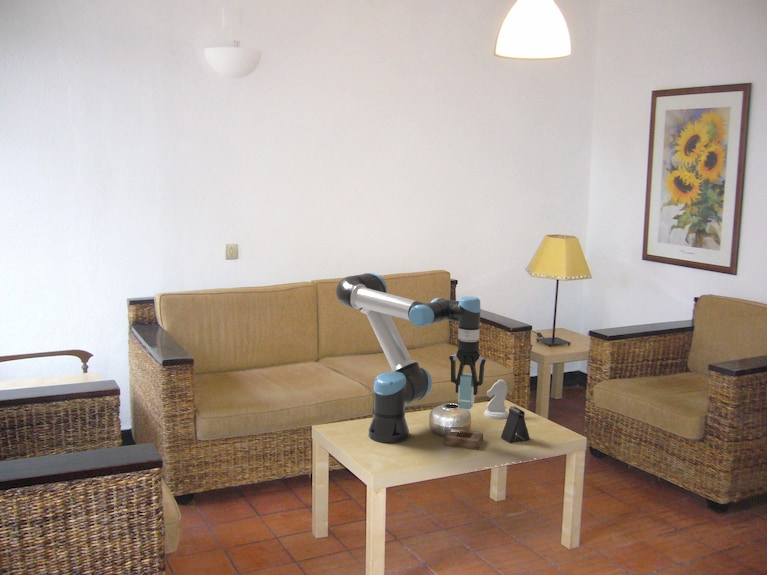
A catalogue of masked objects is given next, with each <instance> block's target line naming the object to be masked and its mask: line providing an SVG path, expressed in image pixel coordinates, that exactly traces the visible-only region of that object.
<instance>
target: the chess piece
mask: <svg viewBox="0 0 767 575" xmlns="http://www.w3.org/2000/svg"><path fill="white" fill-rule="evenodd" d="M507 394H508V386H507V383H506V381H505V380H503V379H498V380H497V381H496V382H494V384H493V385H492V386H491V388H490V389H488V390H487V392H486V396H487V397H488V398H492V399H491V400H490V401H489V402H488V403H487V405H486V407H487V408H486V409H485V411H484V412H483V415H484V416H485V417H486V418H489V419H491V420H504V419H507V418H508V415H509V411H508V412H507V406H506V405H505V401H506V398H507ZM492 396H493V397H492Z"/></svg>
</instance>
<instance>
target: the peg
mask: <svg viewBox="0 0 767 575" xmlns="http://www.w3.org/2000/svg"><path fill="white" fill-rule="evenodd" d="M472 385H473V379H472V373H464V372H463V373H462V375H461V376H460V399H459V403H458V404H459V406H458V408H459V409H463V410H471V409H472V407H473V404H474V403H473V404H471V387H472Z"/></svg>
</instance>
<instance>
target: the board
mask: <svg viewBox="0 0 767 575" xmlns="http://www.w3.org/2000/svg"><path fill="white" fill-rule="evenodd" d="M464 430H465V431H460V433H459V432H450V431H449V432H448V433H447V434H446V436H445V437H444V438H445V439H444V446H449V445H450V446H451V447H456V446H457V447H458V448H465V449H471V450H478V449H479V447H481V444H482V443H483V441H484V432H482V431H481V432H480V431H473V430H467V429H464Z"/></svg>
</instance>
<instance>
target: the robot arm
mask: <svg viewBox="0 0 767 575" xmlns="http://www.w3.org/2000/svg"><path fill="white" fill-rule="evenodd" d="M335 289H336V290H335V295H336V297H337V300H338V301H339V303H341V305H343V306H345V307H348V308H352V309H356V310H359V311H360V313H362V314H365V315H366V317H367V319H368V321H369V323H370V326H371V328H372V329H373V332H374V334H375V336H376V338H377V340H378V343H379V345H380V347H381V349H382V351H383V354H384V355H385V358H386V360H387V362H388V364H389V366H390V368H391V370H390V371H386V372H382V373H380V374H378V375H377V376H376V377H375V379H374V384H373V416H372V419H371V422H370V425H369V427H368V437H369V438H370V439H371V440H373V441H376V442H379V443H380V442H381V443H387V444H389V443H391V444H392V443H393V444H394V443H400V442H404V441H406V440H408V439H409V436H410V430H409V426H408V423H407V420H406V415H405V414H406V405H409V404H411V403H413V402H417V401H420V400H421V399H424V398H426V397H427V396H428V395H429V394H430V392H431V391H432V387H433V381H432V380H433V379H432V377H431V374H430V373H429V371H428V370H427V369H424V368H423V367H420V365H419V363H418V361H417V360H414V359H412V357H411V355H410V353H409V350H408V348H407V347H406V345H405V343H404V340H403V339H402V336H401V334H400V332H399V330H398V328H397V325H396V323H395V322H394V320H393V318H399V319H402V320H404V321H405V320H406V321H410V322H411V323H412V325H414V326H415V327H427V326H429V325H432V324H433V325H434V324H436V323H441V322H445V321H448V322H449V321H452V322H456V323H458V336H457V338H458V340H457V352H456V353H455V354H451V355H450V356H449V361H450V383H452V384H453V383H454V384H455V393H456V394H457V403H458V404H459V399H460V376H461V375H462V374H463V373H464V369H465V366H468V367H469V368H470V374H472V379H473V385H472V387H471V404H474V403H475V398H476V397H475V396H477V394H478V389H479V388H478V387H479V386H482V385H483V384H484V375H485V364H486V362H487V358H486V357H482V356H480V352H479V350H480V341H479V340H480V329H481V328H480V324H481V323H480V321H481V311H482V310H481V309H482V308H481V299H480V298H479V297H477V296H468V295H467V296H461V297H460V298H459V300H454V299H453V300H452V299H449V298H443V297H439V298H438V297H436V298H433V299H432V300H431V301H430V302H427V303H426V302H422V301H418V300H415V299H410V298H406V297H402V296H398V295H395V294H391V293H388V286H387V283H386V281H385V279H384V278H383V277H382V276H381V275H379V274H377V273H374V272H373V273H372V272H365V273H362V274H357V275H350V276H349V275H348V276H346V277H343V278H342V279H341V280H339V282H338V284H337V285H336V288H335ZM457 359H458V361H459V368H458V370H457V371H458V373H457V372H456V365H457V364H456V363H457V362H456V361H457ZM477 361H478V362H479V363H478V364H479V372H478V373H479V374H478V375H477V370H476V363H477Z"/></svg>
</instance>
